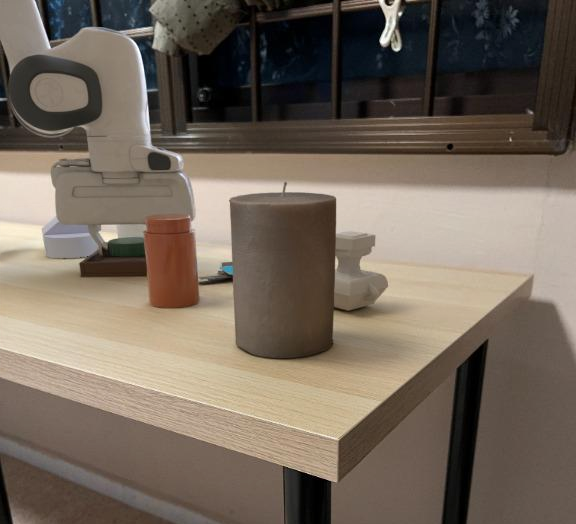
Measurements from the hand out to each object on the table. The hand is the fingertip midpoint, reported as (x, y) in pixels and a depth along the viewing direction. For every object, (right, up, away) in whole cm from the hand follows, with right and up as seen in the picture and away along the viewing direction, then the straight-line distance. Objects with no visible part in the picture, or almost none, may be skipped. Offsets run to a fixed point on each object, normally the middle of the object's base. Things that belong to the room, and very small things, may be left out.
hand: (131, 254), depth 93 cm
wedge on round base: (-14, +3, +13) cm, 19 cm away
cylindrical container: (-3, +5, +16) cm, 17 cm away
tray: (0, -2, +1) cm, 2 cm away
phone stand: (+21, -5, -7) cm, 23 cm away
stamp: (+31, -11, -21) cm, 39 cm away
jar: (+10, -10, -19) cm, 23 cm away
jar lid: (0, +2, -1) cm, 2 cm away
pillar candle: (+23, -16, -33) cm, 44 cm away
